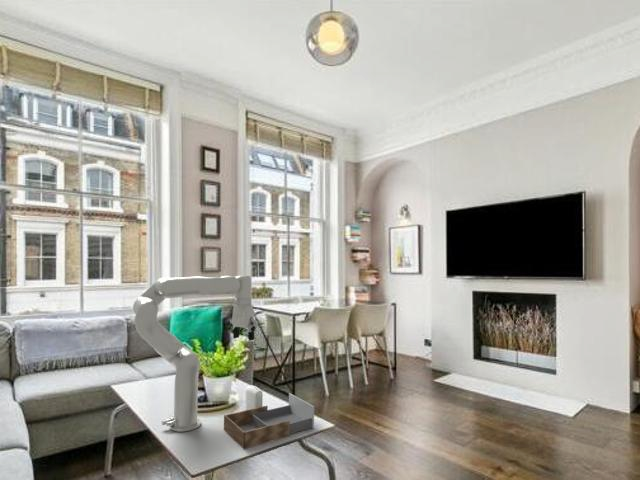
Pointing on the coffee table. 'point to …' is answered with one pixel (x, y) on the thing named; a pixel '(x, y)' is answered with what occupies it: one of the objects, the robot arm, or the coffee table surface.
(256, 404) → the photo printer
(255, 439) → the walnut housing
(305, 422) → the sliding tray
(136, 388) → the coffee table surface
